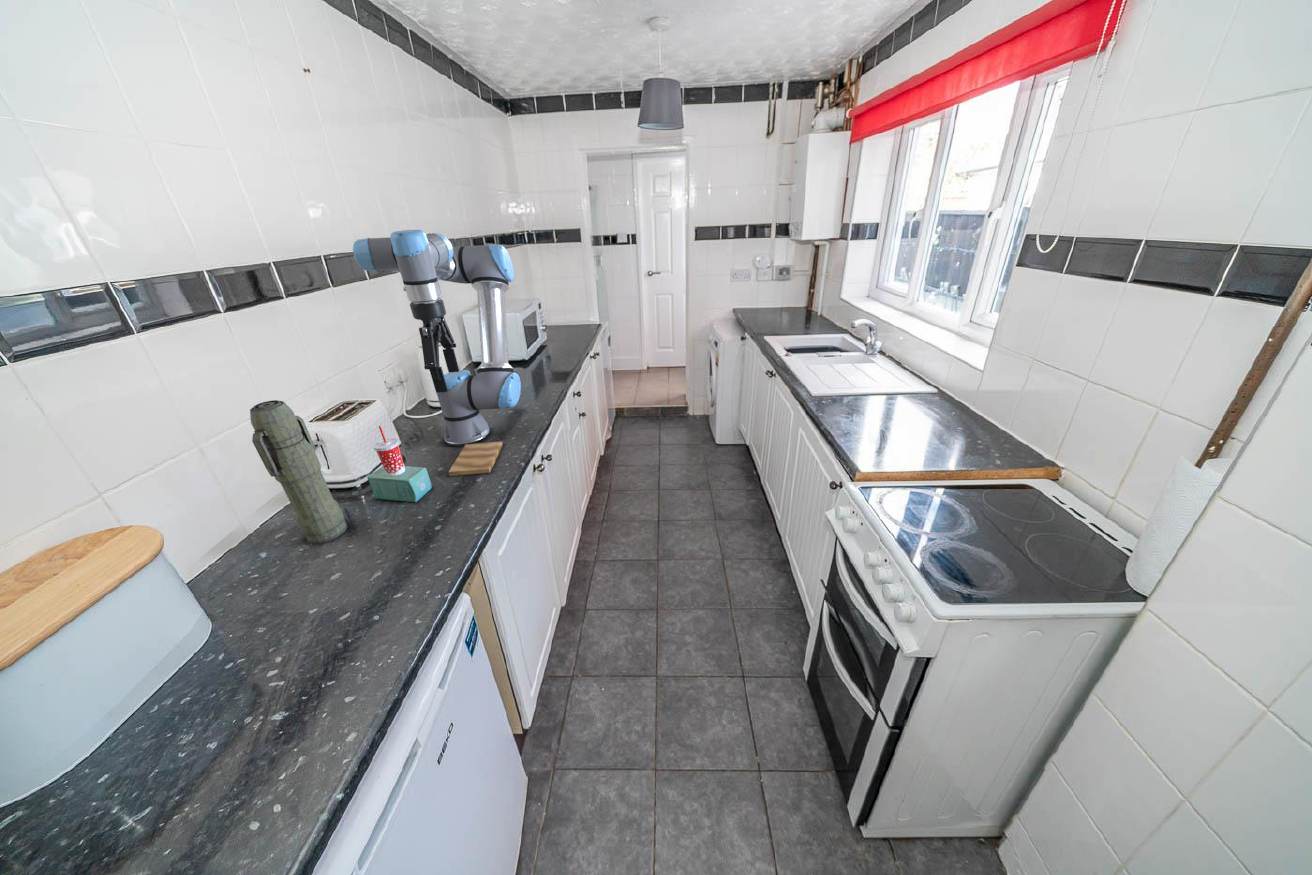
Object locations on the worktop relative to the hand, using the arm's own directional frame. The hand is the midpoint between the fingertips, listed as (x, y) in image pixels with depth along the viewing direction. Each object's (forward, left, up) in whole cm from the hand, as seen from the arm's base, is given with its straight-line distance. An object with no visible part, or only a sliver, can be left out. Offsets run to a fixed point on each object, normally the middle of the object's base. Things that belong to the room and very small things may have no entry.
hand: (448, 381), depth 121 cm
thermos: (+20, -31, -31) cm, 48 cm away
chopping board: (-12, -2, -30) cm, 33 cm away
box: (+5, -18, -31) cm, 36 cm away
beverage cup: (+6, -18, -23) cm, 30 cm away
